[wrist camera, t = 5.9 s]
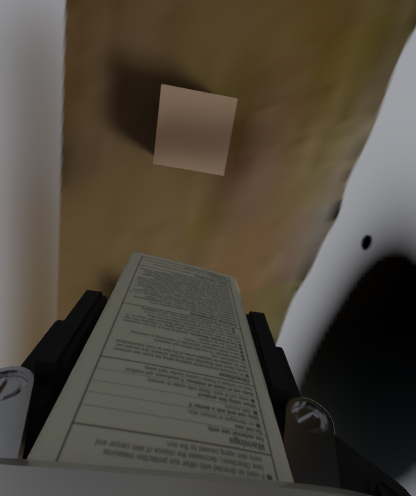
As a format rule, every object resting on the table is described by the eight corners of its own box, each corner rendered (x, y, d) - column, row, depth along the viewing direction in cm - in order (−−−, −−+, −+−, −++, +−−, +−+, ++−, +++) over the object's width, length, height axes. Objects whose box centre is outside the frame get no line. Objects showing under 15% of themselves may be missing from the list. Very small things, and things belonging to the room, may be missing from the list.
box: (114, 325, 15) (-89, 771, 4) (133, 247, 13) (-104, 638, 3) (215, 349, 15) (245, 788, 5) (243, 277, 14) (365, 684, 4)
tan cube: (168, 95, 24) (161, 83, 19) (230, 107, 24) (237, 98, 20) (161, 160, 25) (153, 163, 21) (219, 169, 26) (223, 175, 21)
